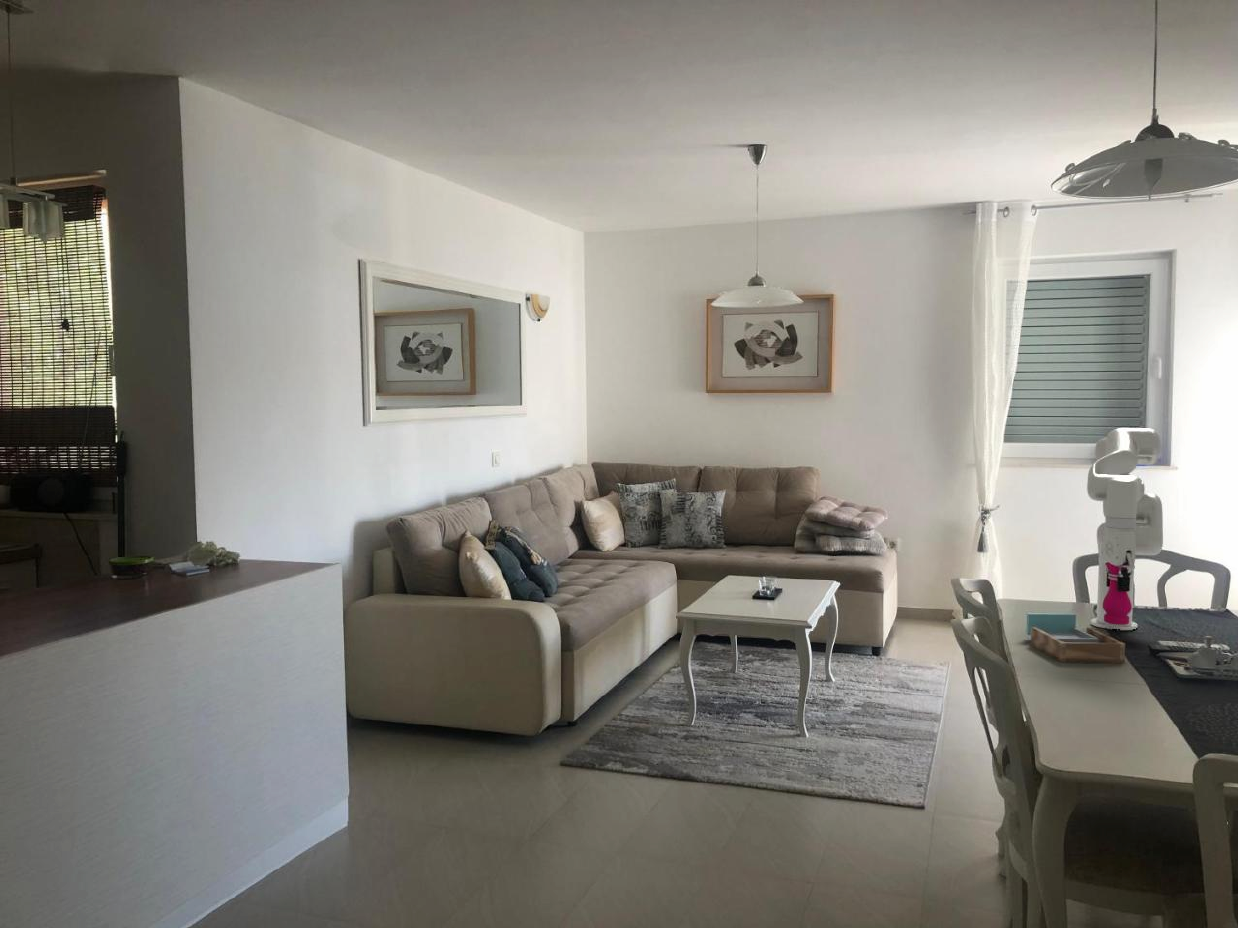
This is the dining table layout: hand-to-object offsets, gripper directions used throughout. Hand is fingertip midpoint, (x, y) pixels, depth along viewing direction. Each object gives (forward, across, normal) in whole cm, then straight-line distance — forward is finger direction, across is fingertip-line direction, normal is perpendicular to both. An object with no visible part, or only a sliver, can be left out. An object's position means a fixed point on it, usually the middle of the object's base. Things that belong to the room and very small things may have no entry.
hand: (1117, 588), depth 272 cm
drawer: (+14, +2, -15) cm, 21 cm away
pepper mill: (+10, 0, 0) cm, 10 cm away
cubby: (+15, +11, -16) cm, 25 cm away
